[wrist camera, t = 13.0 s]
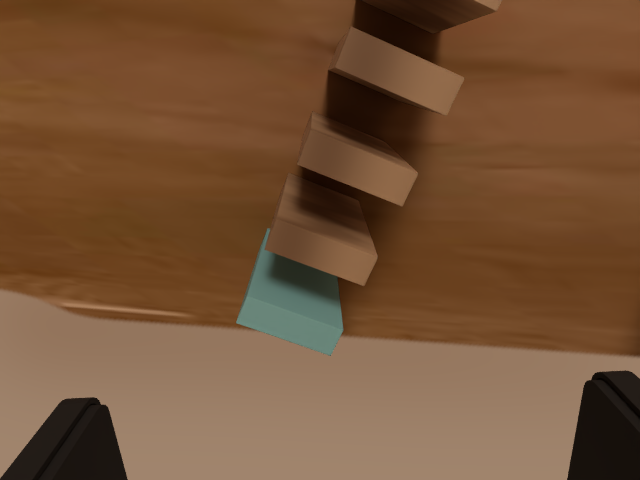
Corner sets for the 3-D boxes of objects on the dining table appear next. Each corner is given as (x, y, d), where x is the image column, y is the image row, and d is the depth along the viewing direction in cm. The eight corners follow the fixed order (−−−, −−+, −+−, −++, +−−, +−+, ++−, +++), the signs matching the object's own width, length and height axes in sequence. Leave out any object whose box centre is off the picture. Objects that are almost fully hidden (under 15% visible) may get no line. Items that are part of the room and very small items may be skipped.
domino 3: (384, 141, 29) (418, 173, 19) (374, 164, 29) (402, 206, 20) (312, 111, 28) (311, 129, 19) (303, 135, 29) (297, 164, 19)
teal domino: (334, 254, 31) (343, 330, 22) (325, 273, 32) (330, 355, 23) (267, 228, 31) (247, 295, 21) (259, 248, 31) (236, 322, 22)
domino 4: (358, 200, 30) (378, 257, 21) (348, 221, 31) (363, 286, 21) (288, 172, 29) (276, 218, 20) (280, 194, 30) (264, 249, 21)
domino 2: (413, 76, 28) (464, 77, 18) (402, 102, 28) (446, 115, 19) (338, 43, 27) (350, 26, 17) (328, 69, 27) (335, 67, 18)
